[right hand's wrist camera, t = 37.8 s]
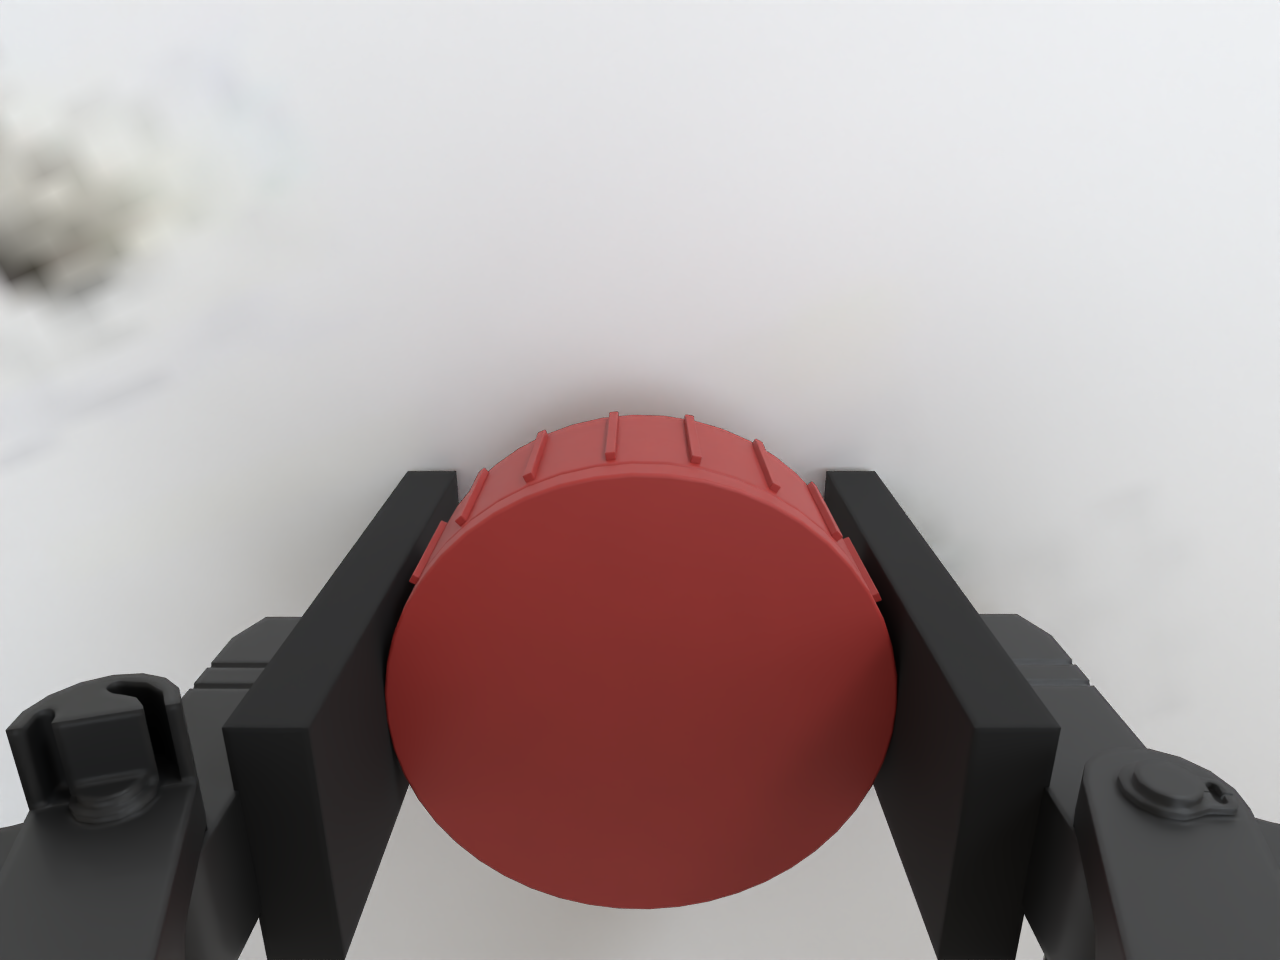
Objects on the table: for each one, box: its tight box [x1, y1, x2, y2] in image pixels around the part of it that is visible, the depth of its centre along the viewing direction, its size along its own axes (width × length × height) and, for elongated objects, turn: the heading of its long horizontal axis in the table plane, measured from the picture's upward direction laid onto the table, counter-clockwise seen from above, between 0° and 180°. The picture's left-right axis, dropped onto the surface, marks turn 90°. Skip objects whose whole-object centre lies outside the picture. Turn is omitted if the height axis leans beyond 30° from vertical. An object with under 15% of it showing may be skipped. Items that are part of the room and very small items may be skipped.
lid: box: [385, 412, 897, 909], centre depth 11 cm, size 6×6×2 cm
